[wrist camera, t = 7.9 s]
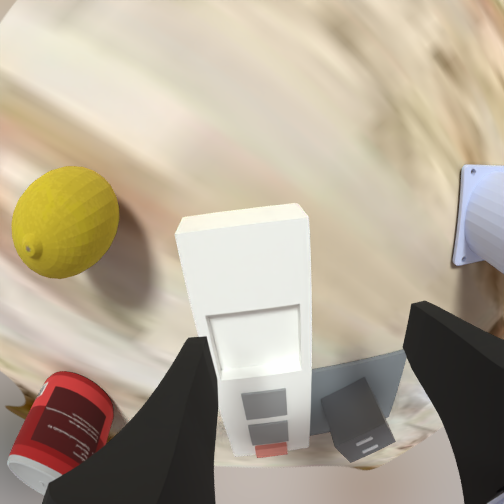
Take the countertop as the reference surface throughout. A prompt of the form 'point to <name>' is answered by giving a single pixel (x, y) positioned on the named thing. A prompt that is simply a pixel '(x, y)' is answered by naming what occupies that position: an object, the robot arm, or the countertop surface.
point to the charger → (356, 421)
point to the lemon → (65, 222)
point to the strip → (254, 320)
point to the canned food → (61, 429)
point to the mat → (339, 376)
